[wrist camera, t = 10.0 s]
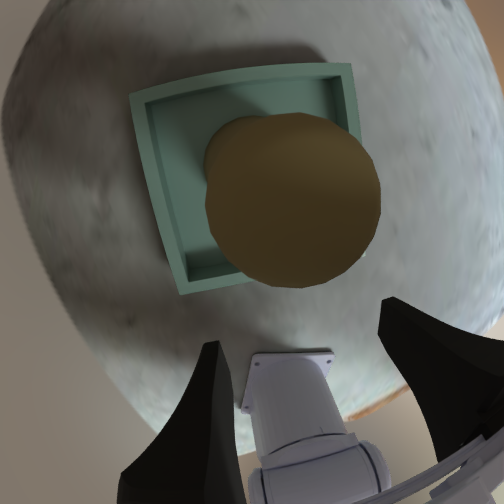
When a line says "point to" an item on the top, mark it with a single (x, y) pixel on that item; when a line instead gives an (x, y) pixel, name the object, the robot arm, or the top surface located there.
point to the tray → (198, 136)
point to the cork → (290, 198)
